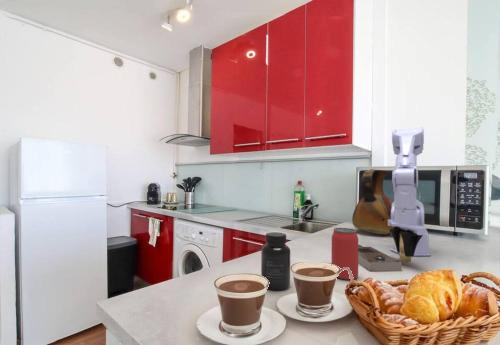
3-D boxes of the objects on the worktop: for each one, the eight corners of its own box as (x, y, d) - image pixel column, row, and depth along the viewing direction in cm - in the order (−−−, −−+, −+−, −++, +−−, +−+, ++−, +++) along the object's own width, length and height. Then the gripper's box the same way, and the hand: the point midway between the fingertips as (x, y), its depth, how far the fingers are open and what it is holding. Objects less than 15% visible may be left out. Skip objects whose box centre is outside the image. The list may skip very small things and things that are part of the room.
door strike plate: (335, 248, 97) (335, 239, 97) (359, 248, 98) (359, 239, 98) (370, 271, 73) (370, 260, 73) (401, 270, 74) (401, 259, 74)
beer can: (355, 282, 65) (355, 233, 65) (328, 277, 68) (328, 230, 69) (360, 274, 70) (360, 229, 71) (335, 269, 74) (335, 226, 74)
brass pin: (406, 259, 81) (406, 232, 81) (413, 262, 78) (413, 235, 78) (397, 259, 80) (397, 232, 81) (403, 262, 78) (403, 235, 78)
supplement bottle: (266, 278, 68) (267, 230, 68) (293, 282, 65) (293, 232, 65) (256, 288, 61) (257, 235, 61) (285, 293, 59) (286, 238, 59)
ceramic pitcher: (404, 233, 126) (404, 169, 126) (391, 240, 111) (391, 168, 112) (362, 227, 139) (362, 170, 140) (345, 233, 125) (345, 168, 125)
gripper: (378, 205, 86) (378, 248, 86) (408, 211, 72) (408, 262, 72) (399, 205, 87) (399, 247, 87) (433, 211, 72) (433, 262, 72)
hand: (405, 254), depth 79 cm, fingers closed on brass pin, 3 cm apart
